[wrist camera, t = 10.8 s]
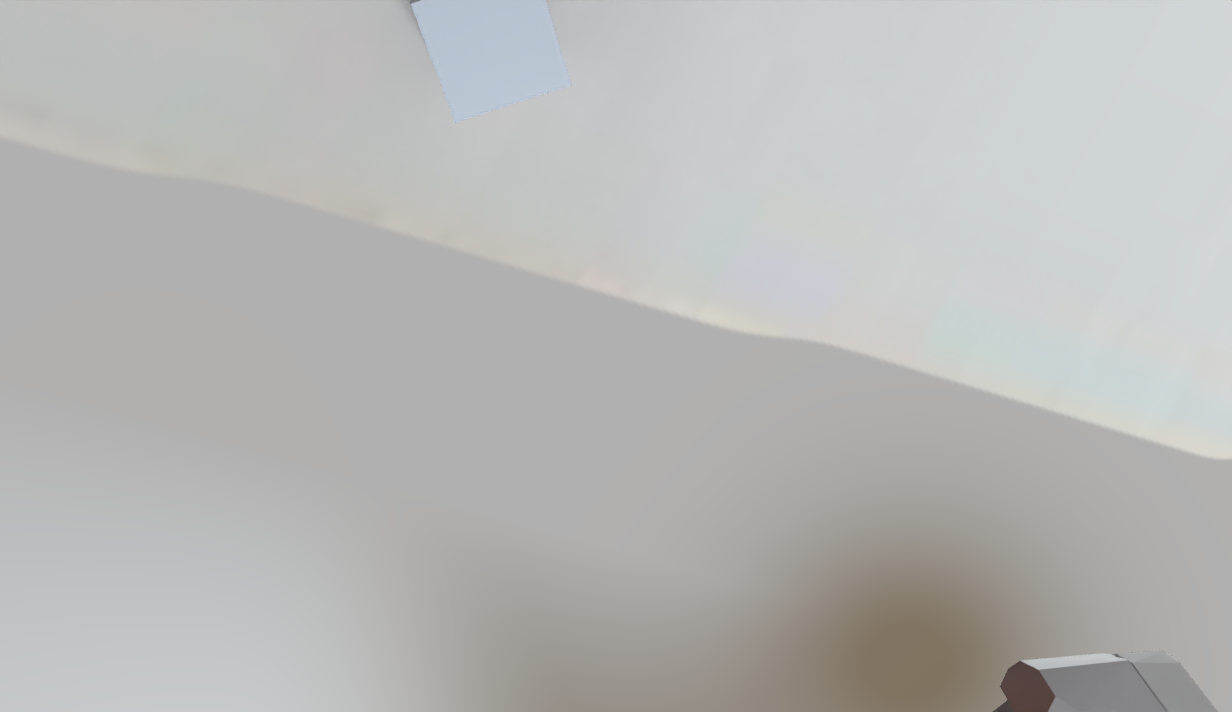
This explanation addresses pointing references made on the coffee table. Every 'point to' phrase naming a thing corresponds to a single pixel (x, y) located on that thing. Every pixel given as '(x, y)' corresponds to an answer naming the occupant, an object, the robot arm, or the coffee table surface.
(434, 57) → the slate block
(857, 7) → the coffee table surface
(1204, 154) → the coffee table surface
